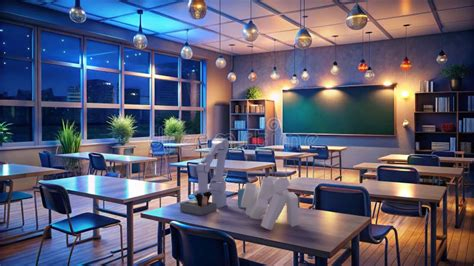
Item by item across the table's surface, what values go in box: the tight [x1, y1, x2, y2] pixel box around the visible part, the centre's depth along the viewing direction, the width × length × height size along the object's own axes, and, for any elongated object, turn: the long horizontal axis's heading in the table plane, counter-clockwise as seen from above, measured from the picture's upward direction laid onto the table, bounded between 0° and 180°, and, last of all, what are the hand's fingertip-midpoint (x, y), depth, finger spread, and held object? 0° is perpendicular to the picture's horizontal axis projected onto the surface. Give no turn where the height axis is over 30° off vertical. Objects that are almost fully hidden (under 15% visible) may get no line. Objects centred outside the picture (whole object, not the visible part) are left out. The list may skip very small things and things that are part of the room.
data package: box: [237, 187, 246, 210], centre depth 235 cm, size 12×4×12 cm, turn 50°
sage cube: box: [188, 199, 198, 206], centre depth 229 cm, size 5×5×5 cm
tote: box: [179, 199, 218, 217], centre depth 227 cm, size 14×18×5 cm
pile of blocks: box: [241, 175, 300, 231], centre depth 198 cm, size 35×30×35 cm
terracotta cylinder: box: [199, 195, 207, 207], centre depth 224 cm, size 5×5×7 cm
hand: (203, 205), depth 225 cm, fingers closed on terracotta cylinder, 5 cm apart
